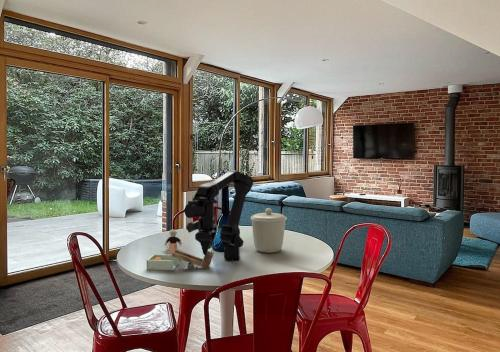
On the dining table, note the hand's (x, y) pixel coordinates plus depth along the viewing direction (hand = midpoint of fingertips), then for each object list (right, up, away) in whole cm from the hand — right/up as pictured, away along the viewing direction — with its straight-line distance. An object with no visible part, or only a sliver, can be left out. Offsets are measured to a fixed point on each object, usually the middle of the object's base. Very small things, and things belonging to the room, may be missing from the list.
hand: (207, 251), depth 156 cm
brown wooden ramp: (-7, -4, +1) cm, 8 cm away
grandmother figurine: (-18, -6, +18) cm, 26 cm away
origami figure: (-21, -5, +30) cm, 37 cm away
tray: (-19, -7, +2) cm, 20 cm away
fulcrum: (-7, -7, +1) cm, 10 cm away
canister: (+27, -5, +29) cm, 40 cm away
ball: (-21, -5, +2) cm, 22 cm away
